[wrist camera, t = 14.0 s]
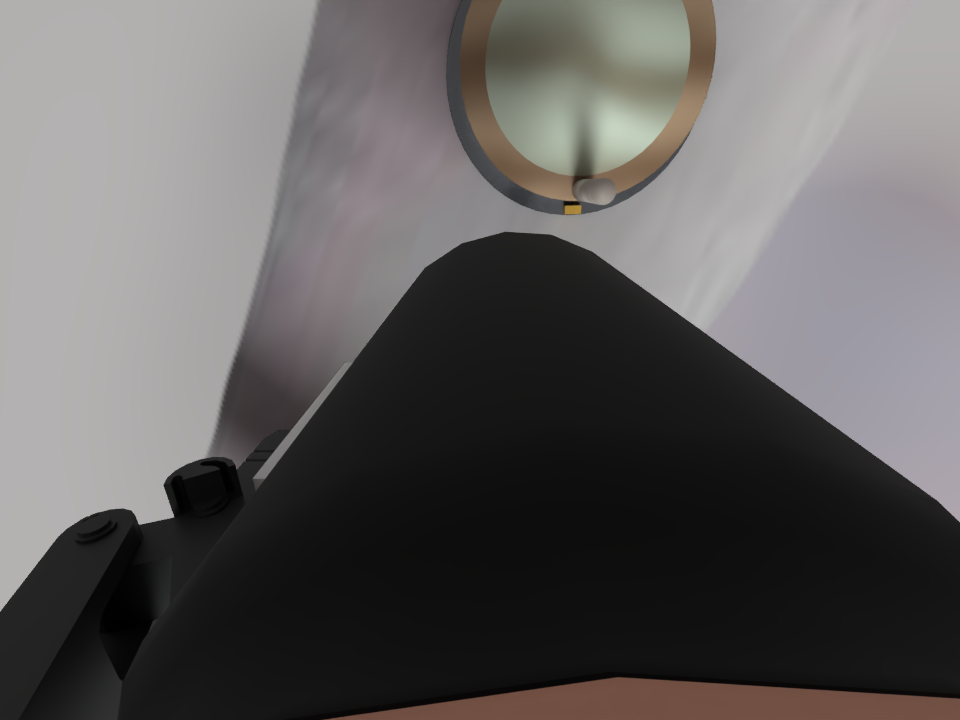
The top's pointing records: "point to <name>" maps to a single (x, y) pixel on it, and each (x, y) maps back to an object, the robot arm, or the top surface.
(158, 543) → the robot arm
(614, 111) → the index wheel
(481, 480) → the coffee jar
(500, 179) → the wheel base
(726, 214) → the top surface
